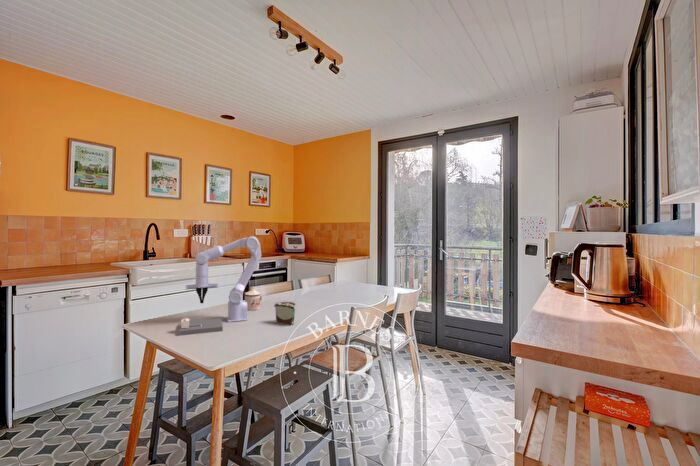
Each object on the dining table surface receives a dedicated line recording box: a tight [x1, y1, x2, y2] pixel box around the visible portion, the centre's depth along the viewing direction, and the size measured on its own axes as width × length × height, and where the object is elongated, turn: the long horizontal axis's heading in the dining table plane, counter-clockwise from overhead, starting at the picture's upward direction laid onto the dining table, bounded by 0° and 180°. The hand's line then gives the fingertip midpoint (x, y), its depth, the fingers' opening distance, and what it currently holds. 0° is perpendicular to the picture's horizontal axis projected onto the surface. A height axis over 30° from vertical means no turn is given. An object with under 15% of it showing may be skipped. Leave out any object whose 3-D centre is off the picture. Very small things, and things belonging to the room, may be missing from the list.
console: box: [178, 317, 224, 336], centre depth 157 cm, size 18×16×2 cm
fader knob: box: [180, 317, 190, 328], centre depth 152 cm, size 3×4×4 cm
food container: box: [273, 301, 297, 326], centre depth 169 cm, size 12×6×10 cm, turn 65°
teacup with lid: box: [244, 288, 263, 311], centre depth 195 cm, size 12×9×12 cm
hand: (201, 302), depth 167 cm, fingers closed
